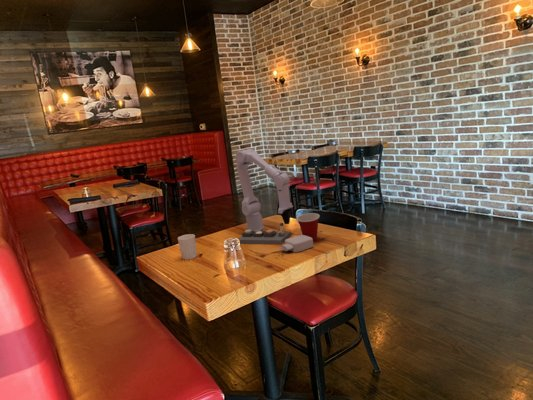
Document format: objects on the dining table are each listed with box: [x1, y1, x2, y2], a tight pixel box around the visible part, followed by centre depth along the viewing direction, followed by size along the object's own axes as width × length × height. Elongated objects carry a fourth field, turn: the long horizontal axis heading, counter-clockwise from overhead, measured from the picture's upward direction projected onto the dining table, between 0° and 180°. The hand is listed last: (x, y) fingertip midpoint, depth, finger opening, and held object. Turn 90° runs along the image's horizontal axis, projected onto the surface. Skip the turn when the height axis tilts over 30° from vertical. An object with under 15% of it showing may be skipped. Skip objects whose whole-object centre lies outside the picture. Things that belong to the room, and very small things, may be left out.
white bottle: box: [278, 234, 314, 253], centre depth 179 cm, size 5×9×15 cm
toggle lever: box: [279, 222, 284, 233], centre depth 196 cm, size 2×2×5 cm
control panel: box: [237, 230, 292, 245], centre depth 199 cm, size 14×24×4 cm, turn 67°
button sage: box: [244, 228, 251, 234], centre depth 202 cm, size 3×3×2 cm
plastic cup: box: [296, 212, 320, 243], centre depth 187 cm, size 11×11×12 cm
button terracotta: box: [265, 228, 274, 234], centre depth 197 cm, size 3×3×2 cm
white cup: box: [177, 233, 198, 261], centre depth 186 cm, size 8×8×10 cm
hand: (287, 223), depth 203 cm, fingers closed
